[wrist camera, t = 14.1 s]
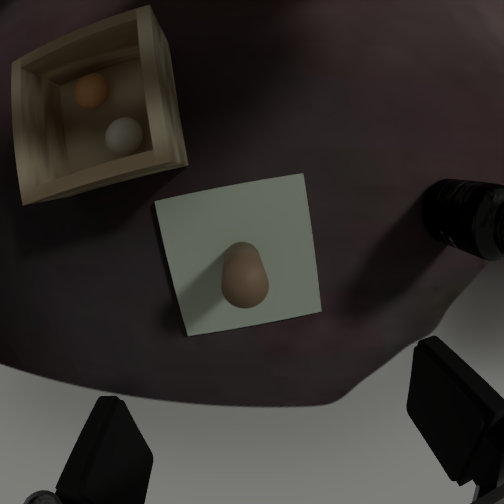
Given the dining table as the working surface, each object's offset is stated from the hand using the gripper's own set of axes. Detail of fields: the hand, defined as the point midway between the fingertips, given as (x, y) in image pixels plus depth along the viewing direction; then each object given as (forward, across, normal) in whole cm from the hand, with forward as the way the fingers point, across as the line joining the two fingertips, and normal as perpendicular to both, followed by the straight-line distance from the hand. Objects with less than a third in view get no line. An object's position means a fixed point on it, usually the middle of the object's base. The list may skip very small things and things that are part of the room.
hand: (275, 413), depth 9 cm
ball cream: (+20, +8, -12) cm, 24 cm away
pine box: (+20, +10, -14) cm, 27 cm away
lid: (+21, 0, 0) cm, 21 cm away
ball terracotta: (+20, +11, -17) cm, 28 cm away
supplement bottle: (+21, -21, 0) cm, 30 cm away
